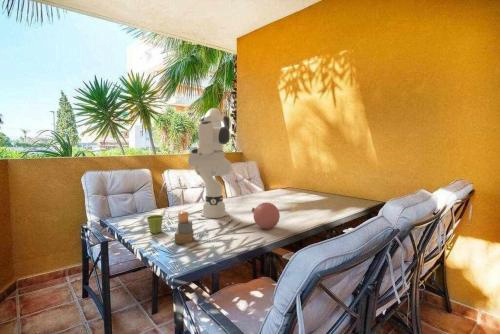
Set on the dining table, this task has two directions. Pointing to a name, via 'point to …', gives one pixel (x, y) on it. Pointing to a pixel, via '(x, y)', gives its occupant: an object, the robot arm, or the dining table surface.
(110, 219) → the dining table surface
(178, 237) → the tower base
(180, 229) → the tower top
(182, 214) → the terracotta cylinder
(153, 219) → the plant pot
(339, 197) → the dining table surface
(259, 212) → the balloon
